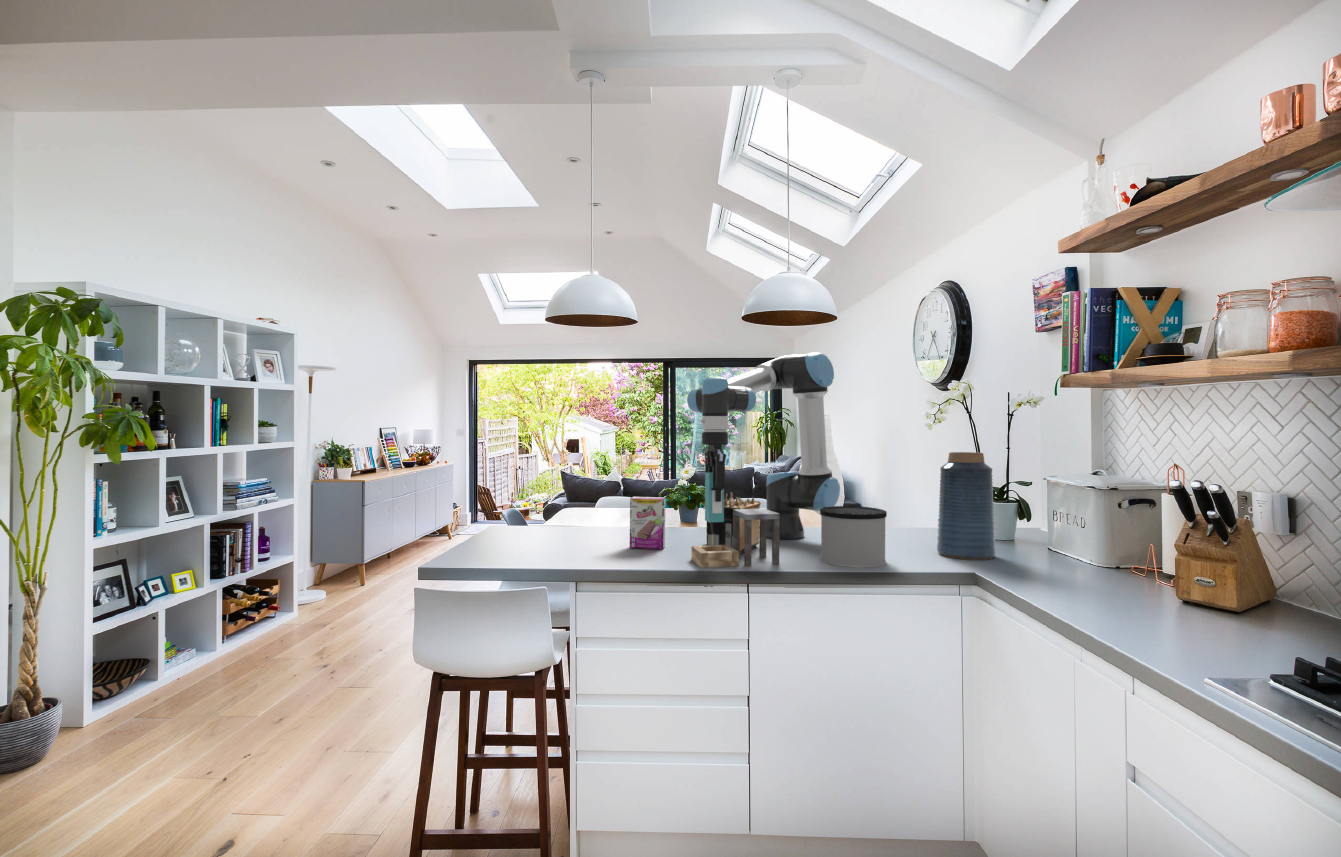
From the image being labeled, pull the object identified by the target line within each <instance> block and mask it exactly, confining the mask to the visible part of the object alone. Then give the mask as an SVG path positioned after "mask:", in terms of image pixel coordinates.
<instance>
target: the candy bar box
mask: <svg viewBox="0 0 1341 857" xmlns="http://www.w3.org/2000/svg"><path fill="white" fill-rule="evenodd" d="M629 506H630V508H629V549H632V548H641V549H640V550H664V548H665V547H666V497H661V496H660V497H659V496H657V497H655V496H654V497H653V496H632V497H630V500H629Z"/></svg>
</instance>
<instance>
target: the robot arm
mask: <svg viewBox="0 0 1341 857" xmlns="http://www.w3.org/2000/svg"><path fill="white" fill-rule="evenodd" d="M834 379H835V371H834V366H833V363H832V361H831V360H830V358H828V356H827V355H826V354H824V353H821V352H808V353H799V354H789V355H788V354H787V355H783V356H779V357H776V358H774V359H771V360H768V361H766V362H764V363H761V364H758V365H756V367H755V368H754V369H753V370H750V371H748V372H745V373H742V374H740V375H737V376H733V377H731V378H729V379H728V378H725V377H706V378H704V379H702V380H703V381H702V388H701V387H697V388H693V389H691V390H690V391H689V393H688V394H687V397H686V398H687V399H686V402H687V406H688V408H689V409H690V411H691V412H694V413H701V415H702V419H700V423H701V426H702V427H701V430H703V432H702V433H701V444H702V445H705V446H707V451H705V452H704V463H705V464H704V471H705V472H713V488H711V490H712V513H722V490H723V489H724V490H725V487H726V484H725V480H726V456H727V454H726V453H724V451H723V446H726V445H728V443H729V433H728V432H727V431H729V412H734V413H735V412H736V413H737V412H740V413H744V412H746V413H747V412H750V411H752V410H753V409H754V408H755V406H756V403H757V395H756V394H757V393H759V392H761V391H763V392H769V391H771V390H778V389H779V390H781V389H792V395H794V396H795V397H796V399H797V408H798V411H797V412H798V428H799V446H800V463H801V464H800V465H801V467H800V469H798V471H797V470H796V471H786V472H775V473H773V472H772V473H769V474H768V475H767V477H766V484H765V487H766V490H765V491H766V509H767V510H770V511H773V512H776V513H779V540H794V539H795V540H796V539H802V538H804V537H805V529H804V526H803V523H802V520H801V516H800V509H801V510H809V511H816V512H820V509H821V508H825V507H832V506H837V505H836V504H838V501H839V498H840V494H841V486H840V482H839V480H838V479H837V478H835V477H834V476H833V472H832V471H833V470H832V469H831V468H829V467H828V461H827V459H828V458H827V444H826V442H827V440H826V424H825V420H826V419H825V406H824V405H825V404H824V397H825V395H826V394H827V393H828V387H830V386H831V385H832V384H833V381H834ZM705 472H704V473H705ZM766 538H768V539H769V538H770V539H772V519H766Z"/></svg>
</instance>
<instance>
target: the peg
mask: <svg viewBox="0 0 1341 857" xmlns="http://www.w3.org/2000/svg"><path fill="white" fill-rule="evenodd" d="M711 488H713V472H704V521H705V522H706V523H707V522H724V499H725V488H724V489H723V490H722V513H712V490H711Z"/></svg>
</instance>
